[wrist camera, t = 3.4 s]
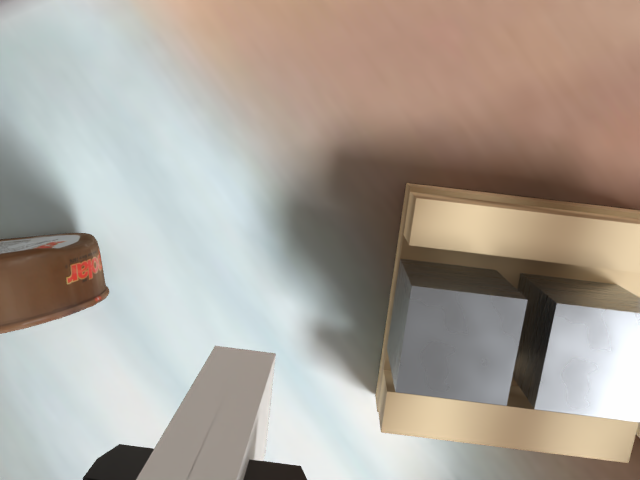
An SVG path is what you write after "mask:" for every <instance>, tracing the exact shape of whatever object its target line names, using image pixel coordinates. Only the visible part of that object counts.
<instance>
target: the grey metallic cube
mask: <svg viewBox="0 0 640 480" xmlns="http://www.w3.org/2000/svg"><path fill="white" fill-rule="evenodd" d="M527 301H528V300H527V299H526V298H525V297H524V296H523V295H522V294H521V293H520V292H519V291H518V290H517V289H516V288H515V287H514V286H513V285H512V284H511V283H509V282H508V281H507V280H506V279H505V278H504V277H503V276H502V275H501V274H500V273H499V272H498V271H497V270H492V269H484V268H475V267H467V266H459V265H450V264H442V263H434V262H425V261H417V260H409V259H400V262H399V269H398V276H397V282H396V289H395V296H394V303H393V309H392V316H391V323H390V330H389V336H388V343H387V352H388V357H389V362H390V367H391V372H392V377H393V382H394V387H395V392H398V393H407V394H415V395H423V396H431V397H439V398H447V399H455V400H463V401H471V402H480V403H488V404H496V405H504V406H507V401H508V396H509V391H510V386H511V381H512V376H513V371H514V366H515V361H516V356H517V351H518V346H519V341H520V336H521V331H522V326H523V321H524V316H525V311H526V306H527Z"/></svg>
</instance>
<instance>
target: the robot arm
mask: <svg viewBox="0 0 640 480" xmlns="http://www.w3.org/2000/svg"><path fill="white" fill-rule="evenodd" d="M275 356H276V354H275V353H267V352H260V351H252V350H244V349H236V348H228V347H220V346H215V347H214V349H213V350H212V352H211V354H210V356H209V357H208V359H207V361H206V362H205V364H204V366H203V367H202V369H201V371H200V372H199V374H198V376H197V378H196V379H195V381H194V383H193V384H192V386H191V388H190V389H189V391H188V393H187V394H186V396H185V398H184V400H183V401H182V403H181V405H180V406H179V408H178V410H177V411H176V413H175V415H174V416H173V418H172V420H171V421H170V423H169V425H168V427H167V428H166V430H165V432H164V433H163V435H162V437H161V438H160V440H159V442H158V443H157V445H156V447H155V449H152V448H144V447H137V446H129V445H121V444H119V445H118V446H116V447H115V448H113V449H112V450H110V451H109V452H107V453H105V454H104V455H102V456H101V457H99V458H98V459H97V460H96V461H95V463H94V464H93V465H92V467H91V468H90V469H89V471H88V472H87V473H86V475H85V476H84V477H83V480H307V478H306V476H305V474H304V472H303V470H302V468H301V466H296V465H288V464H281V463H273V462H265V461H264V457H265V453H266V443H267V433H268V424H269V414H270V404H271V395H272V385H273V375H274V366H275Z"/></svg>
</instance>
